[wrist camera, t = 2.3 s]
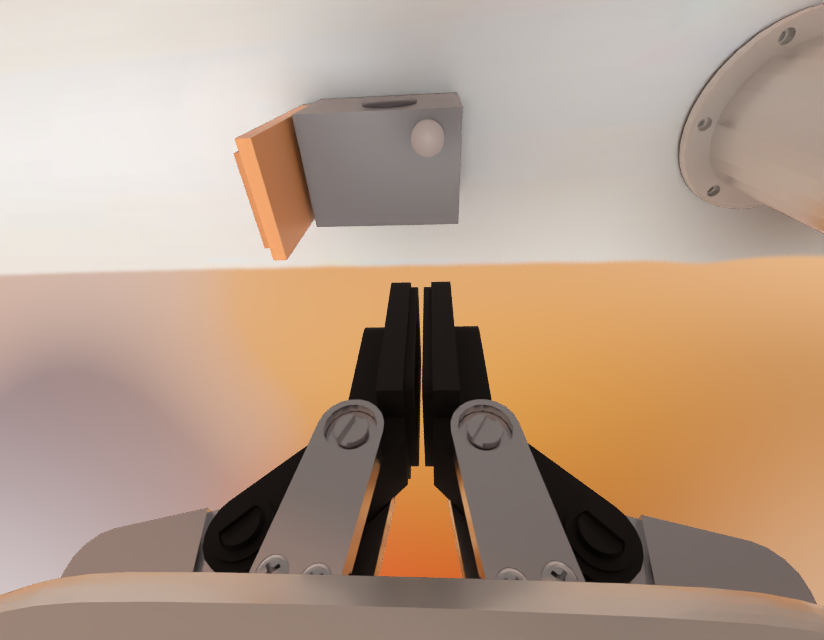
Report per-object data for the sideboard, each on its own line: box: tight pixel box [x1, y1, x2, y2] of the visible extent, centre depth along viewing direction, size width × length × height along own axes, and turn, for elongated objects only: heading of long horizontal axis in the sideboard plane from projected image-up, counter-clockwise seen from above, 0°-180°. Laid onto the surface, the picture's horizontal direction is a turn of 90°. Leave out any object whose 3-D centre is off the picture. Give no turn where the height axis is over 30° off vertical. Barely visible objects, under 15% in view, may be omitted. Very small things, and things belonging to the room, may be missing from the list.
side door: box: [234, 104, 315, 260], centre depth 24 cm, size 1×7×12 cm, turn 3°
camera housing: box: [292, 93, 462, 227], centre depth 25 cm, size 10×7×8 cm
